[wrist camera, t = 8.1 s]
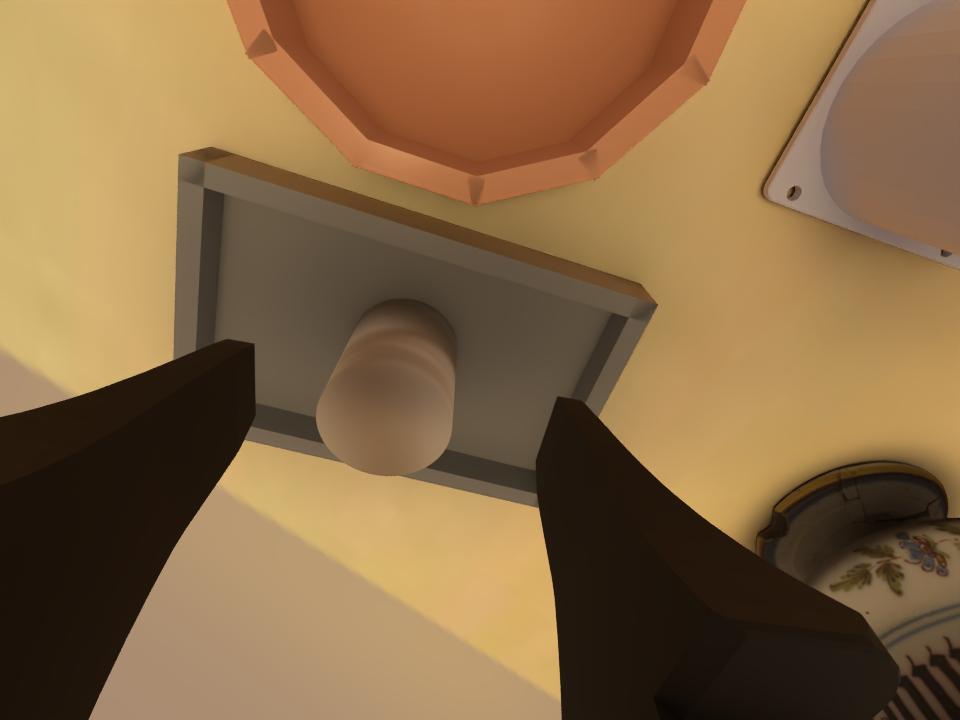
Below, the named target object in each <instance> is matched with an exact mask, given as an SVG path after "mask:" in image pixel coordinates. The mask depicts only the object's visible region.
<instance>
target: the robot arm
mask: <svg viewBox="0 0 960 720" xmlns="http://www.w3.org/2000/svg"><path fill="white" fill-rule="evenodd" d="M793 186H795V189H796V190H795V193H794V194H793V196H792V197H790V198H788V199H787V192H788V190H789V189H790V188H791V187H793ZM764 196H765V198H766V199H768V200H769V201H772V202H774V203H777V204H780V205H783V206H785V207H788V208H791V209H794V210H796V211H799V212H802V213H804V214H807V215H810V216H813V217H815V218H818V219H821V220H824V221H826V222H829V223H832V224H835V225H837V226H840V227H843V228H845V229H848V230H851V231H854V232H856V233H859V234H862V235H865V236H867V237H870V238H873V239H876V240H878V241H881V242H884V243H886V244H889V245H892V246H895V247H897V248H900V249H903V250H906V251H908V252H911V253H914V254H917V255H919V256H922V257H925V258H927V259H930V260H933V261H936V262H938V263H941V264H944V265H947V266H949V267H952V268H955V269H957V270H960V0H870V2H869V4H868V5H867V7H866V9H865V11H864V12H863V14H862V16H861V18H860V19H859V21H858V23H857V25H856V26H855V28H854V30H853V32H852V33H851V35H850V37H849V39H848V40H847V42H846V44H845V45H844V47H843V49H842V51H841V52H840V54H839V56H838V58H837V59H836V61H835V63H834V65H833V66H832V68H831V70H830V72H829V73H828V75H827V77H826V79H825V80H824V82H823V84H822V86H821V87H820V89H819V91H818V93H817V94H816V96H815V98H814V100H813V101H812V103H811V105H810V107H809V108H808V110H807V112H806V114H805V115H804V117H803V119H802V120H801V122H800V124H799V126H798V127H797V129H796V131H795V133H794V134H793V136H792V138H791V140H790V141H789V143H788V145H787V147H786V148H785V150H784V152H783V154H782V155H781V157H780V159H779V161H778V162H777V164H776V166H775V168H774V169H773V171H772V173H771V175H770V176H769V178H768V180H767V182H766V183H765V186H764ZM941 250H944V251H943V252H942V253H941ZM255 416H256V397H255V343H249V342H243V341H237V340H232V339H225V340H222V341H219V342H216V343H214V344H211V345H208V346H206V347H204V348H201V349H199V350H196V351H194V352H192V353H189V354H187V355H185V356H182V357H180V358H177V359H175V360H173V361H170V362H168V363H165V364H163V365H161V366H158V367H156V368H153V369H151V370H149V371H146V372H143V373H141V374H138V375H135V376H133V377H130V378H127V379H125V380H122V381H119V382H117V383H114V384H111V385H109V386H106V387H103V388H101V389H98V390H95V391H92V392H89V393H86V394H83V395H80V396H77V397H74V398H70V399H67V400H64V401H60V402H57V403H53V404H50V405H46V406H43V407H40V408H36V409H32V410H29V411H25V412H21V413H16V414H12V415H8V416H4V417H0V720H88V719H89V717H90V715H91V713H92V710H93V708H94V706H95V704H96V702H97V699H98V697H99V695H100V693H101V691H102V689H103V687H104V685H105V682H106V680H107V678H108V676H109V674H110V672H111V670H112V668H113V666H114V664H115V661H116V659H117V657H118V655H119V653H120V651H121V649H122V647H123V645H124V643H125V641H126V638H127V636H128V634H129V633H130V630H131V629H132V627H133V625H134V623H135V621H136V619H137V617H138V615H139V613H140V611H141V609H142V607H143V605H144V603H145V601H146V599H147V597H148V595H149V593H150V591H151V589H152V587H153V585H154V584H155V582H156V580H157V578H158V576H159V574H160V573H161V571H162V569H163V567H164V565H165V563H166V562H167V559H168V558H169V556H170V554H171V552H172V550H173V549H174V547H175V545H176V544H177V542H178V540H179V539H180V537H181V536H182V534H183V533H184V531H185V529H186V528H187V526H188V525H189V524H190V522H191V521H192V519H193V518H194V516H195V515H196V513H197V512H198V510H199V509H200V507H201V506H202V504H203V503H204V502H205V500H206V499H207V497H208V496H209V494H210V493H211V491H212V490H213V489H214V487H215V486H216V484H217V483H218V481H219V480H220V478H221V477H222V475H223V474H224V472H225V471H226V469H227V468H228V466H229V465H230V463H231V462H232V460H233V459H234V457H235V456H236V454H237V453H238V451H239V449H240V447H241V445H242V443H243V441H244V439H245V437H246V435H247V433H248V431H249V429H250V427H251V425H252V423H253V421H254V418H255ZM536 485H537V498H538V505H539V510H540V516H541V522H542V527H543V533H544V538H545V543H546V549H547V554H548V560H549V565H550V571H551V576H552V582H553V589H554V597H555V608H556V621H557V634H558V650H559V667H560V685H561V711H562V720H871V719H873V718H874V717H875V716H876V715H877V714H878V713H879V712H881V711H882V710H883V709H884V708H885V707H886V706H887V704H888V703H889V702H890V701H891V700H892V699H893V698H894V696H895V694H896V691H897V689H898V687H899V684H900V680H901V677H900V669H899V666H898V664H897V663H896V662H895V660H894V659H893V657H892V656H891V655H890V653H889V652H888V650H887V649H886V648H885V646H884V645H883V643H882V642H881V641H880V639H879V638H878V636H877V635H876V634H875V632H874V631H873V629H872V628H871V626H870V625H869V624H868V622H867V621H866V619H865V618H864V617H863V615H862V614H861V613H859V612H857V611H856V610H854V609H852V608H850V607H848V606H846V605H844V604H842V603H840V602H839V601H837V600H835V599H833V598H831V597H829V596H827V595H825V594H824V593H822V592H820V591H818V590H816V589H814V588H812V587H810V586H808V585H807V584H805V583H803V582H801V581H799V580H797V579H796V578H794V577H792V576H791V575H789V574H787V573H786V572H784V571H782V570H781V569H779V568H777V567H776V566H774V565H772V564H771V563H769V562H767V561H766V560H764V559H762V558H761V557H759V556H758V555H756V554H755V553H753V552H751V551H750V550H748V549H747V548H745V547H744V546H742V545H741V544H739V543H738V542H736V541H735V540H734V539H732V538H731V537H729V536H728V535H726V534H725V533H724V532H722V531H721V530H719V529H718V528H716V527H715V526H714V525H712V524H711V523H710V522H708V521H707V520H706V519H704V518H703V517H702V516H700V515H699V514H698V513H696V512H695V511H694V510H693V509H692V508H690V507H689V506H688V505H687V504H685V503H684V502H683V501H682V500H681V499H679V498H678V497H677V496H676V495H674V494H673V493H672V492H671V491H670V490H669V489H668V488H666V487H665V486H664V485H663V484H662V483H661V482H660V481H659V480H658V479H657V478H656V477H655V476H653V475H652V474H651V473H650V472H649V471H648V470H647V469H646V468H645V467H644V466H643V465H642V464H641V463H640V462H639V461H638V460H637V459H636V458H635V457H634V456H633V455H632V454H631V453H630V452H629V451H628V450H627V449H626V448H625V447H624V445H623V444H622V443H621V442H620V441H619V440H618V439H617V438H616V437H615V436H614V435H613V434H612V432H611V431H610V430H609V429H608V428H607V427H606V426H605V425H604V424H603V423H602V421H601V420H600V419H599V418H598V417H597V416H596V415H595V414H594V413H593V412H592V410H591V409H590V408H589V407H588V406H587V405H586V404H585V403H584V402H583V401H582V400H577V399H571V398H565V397H560V396H557V399H556V402H555V404H554V407H553V410H552V413H551V416H550V419H549V422H548V425H547V428H546V431H545V434H544V437H543V440H542V443H541V446H540V449H539V452H538V455H537V458H536Z"/></svg>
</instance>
